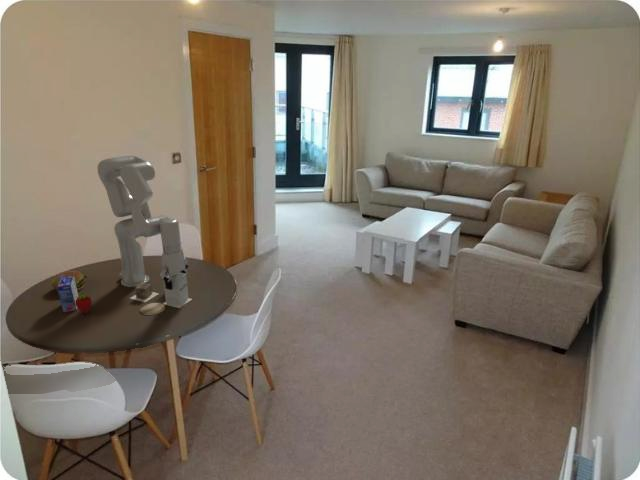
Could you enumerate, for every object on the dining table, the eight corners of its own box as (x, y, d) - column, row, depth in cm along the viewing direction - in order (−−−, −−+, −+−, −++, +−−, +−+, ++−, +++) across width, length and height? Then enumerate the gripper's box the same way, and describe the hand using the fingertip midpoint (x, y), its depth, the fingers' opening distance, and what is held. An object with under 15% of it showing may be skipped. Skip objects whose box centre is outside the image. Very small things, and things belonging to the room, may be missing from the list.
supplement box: (181, 306, 189) (178, 279, 185) (165, 304, 191) (162, 278, 186) (189, 298, 196) (186, 272, 192) (174, 296, 198) (171, 271, 193)
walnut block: (136, 298, 196) (135, 288, 194) (142, 293, 200) (140, 283, 199) (146, 298, 195) (145, 288, 193) (152, 293, 200) (151, 284, 198)
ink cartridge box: (65, 302, 192) (59, 272, 187) (79, 300, 193) (73, 270, 188) (62, 312, 183) (55, 281, 178) (76, 310, 185) (70, 279, 180)
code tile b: (129, 298, 196) (129, 298, 195) (144, 290, 203) (144, 289, 203) (145, 302, 192) (145, 302, 192) (159, 294, 200) (159, 293, 200)
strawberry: (77, 319, 178) (73, 297, 175) (77, 311, 184) (73, 290, 181) (94, 316, 181) (90, 294, 177) (93, 308, 187) (89, 287, 184)
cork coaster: (135, 312, 184) (134, 311, 184) (151, 302, 193) (151, 301, 193) (153, 317, 181) (153, 316, 180) (170, 306, 189) (169, 305, 189)
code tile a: (162, 304, 191) (162, 303, 191) (176, 295, 199) (176, 295, 199) (179, 308, 188) (179, 307, 188) (192, 299, 196) (192, 298, 196)
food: (46, 294, 198) (43, 279, 195) (65, 281, 211) (62, 266, 208) (75, 296, 197) (72, 280, 194) (93, 282, 210) (90, 267, 207)
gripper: (178, 240, 193) (182, 275, 199) (150, 253, 178) (156, 291, 184) (192, 242, 191) (196, 278, 196) (165, 256, 176) (170, 294, 181)
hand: (176, 284), depth 190 cm, fingers open, 9 cm apart
